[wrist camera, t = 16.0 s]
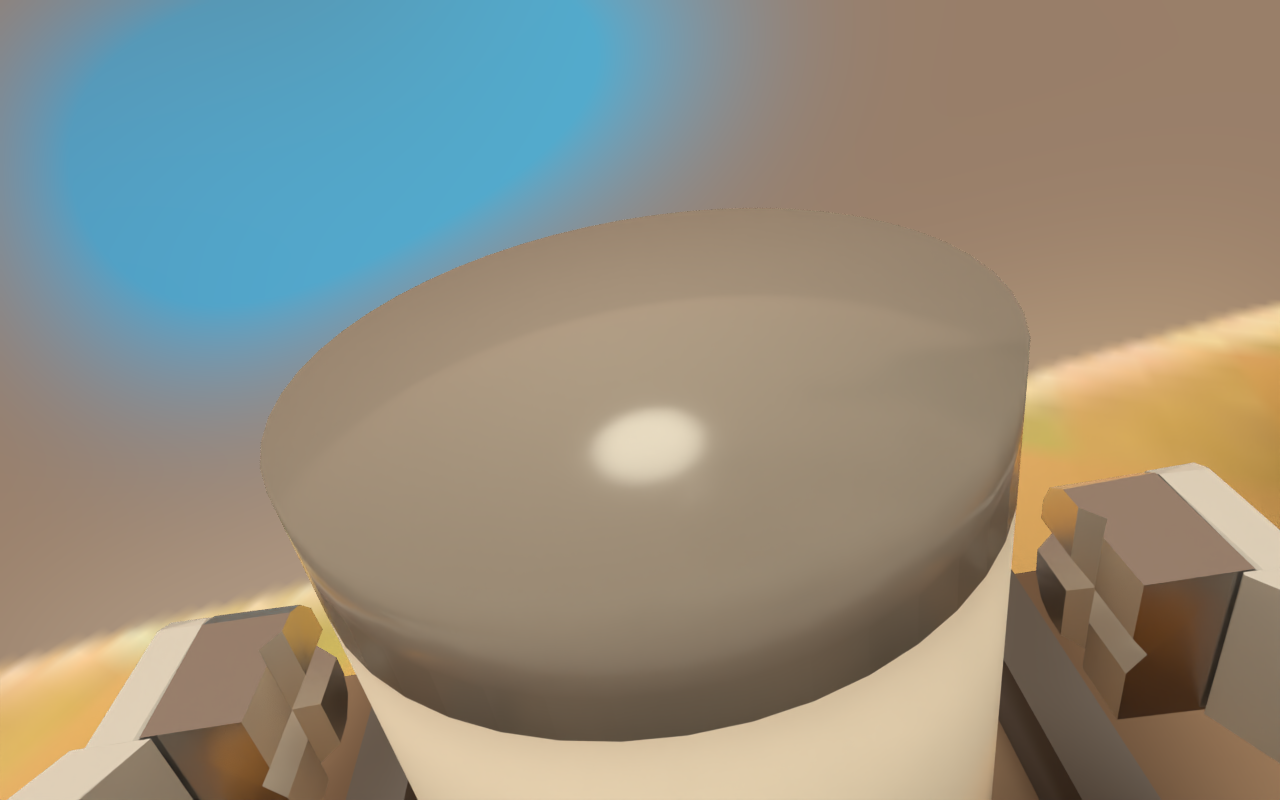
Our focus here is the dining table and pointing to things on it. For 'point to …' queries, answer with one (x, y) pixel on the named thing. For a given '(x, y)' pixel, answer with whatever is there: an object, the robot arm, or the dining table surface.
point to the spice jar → (672, 511)
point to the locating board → (1026, 735)
